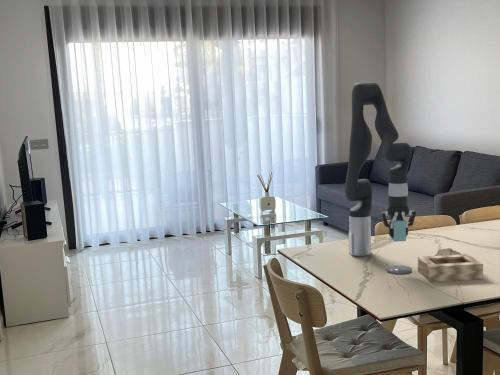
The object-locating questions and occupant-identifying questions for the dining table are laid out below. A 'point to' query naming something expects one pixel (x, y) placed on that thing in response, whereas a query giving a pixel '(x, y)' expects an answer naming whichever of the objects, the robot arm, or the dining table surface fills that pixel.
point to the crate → (450, 268)
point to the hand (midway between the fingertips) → (398, 236)
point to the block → (399, 231)
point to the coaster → (398, 269)
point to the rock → (447, 252)
